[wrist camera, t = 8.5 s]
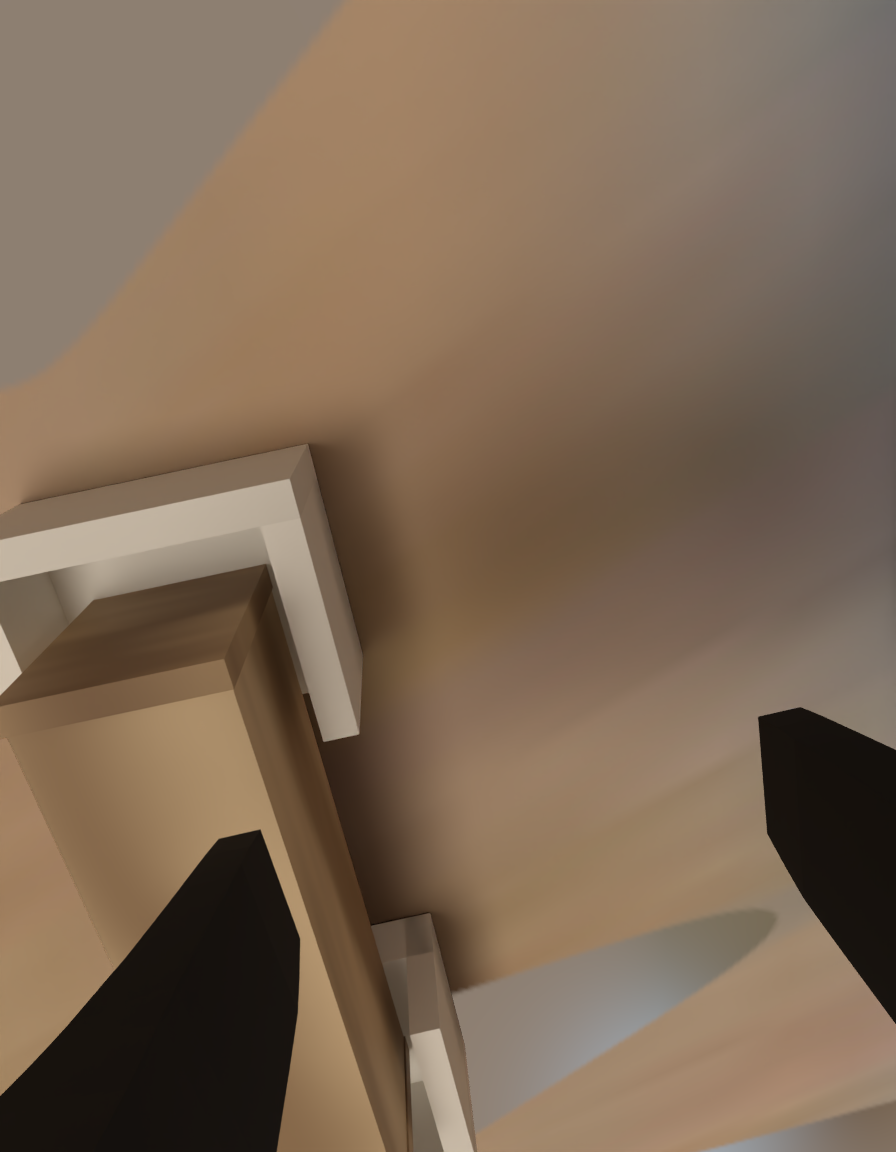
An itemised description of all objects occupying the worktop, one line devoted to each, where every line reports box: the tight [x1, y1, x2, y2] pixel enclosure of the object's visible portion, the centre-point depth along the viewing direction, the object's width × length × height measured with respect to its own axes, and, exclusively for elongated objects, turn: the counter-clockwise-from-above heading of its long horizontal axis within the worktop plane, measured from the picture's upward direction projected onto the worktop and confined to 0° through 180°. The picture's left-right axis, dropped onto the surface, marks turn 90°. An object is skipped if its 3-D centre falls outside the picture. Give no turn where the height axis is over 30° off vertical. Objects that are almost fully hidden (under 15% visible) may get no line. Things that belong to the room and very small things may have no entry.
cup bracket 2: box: [371, 913, 477, 1152], centre depth 23 cm, size 7×6×4 cm
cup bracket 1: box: [0, 444, 363, 742], centre depth 17 cm, size 7×6×4 cm
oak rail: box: [0, 564, 413, 1152], centre depth 18 cm, size 4×16×5 cm, turn 11°
